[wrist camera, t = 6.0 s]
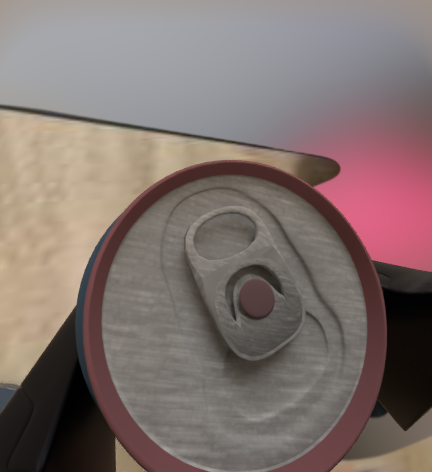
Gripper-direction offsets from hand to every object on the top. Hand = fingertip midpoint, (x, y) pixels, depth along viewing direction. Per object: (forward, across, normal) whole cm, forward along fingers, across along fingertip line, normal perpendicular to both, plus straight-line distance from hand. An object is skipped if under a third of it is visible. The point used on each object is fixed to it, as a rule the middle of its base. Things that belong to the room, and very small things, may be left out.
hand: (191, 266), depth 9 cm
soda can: (+4, 0, +6) cm, 7 cm away
